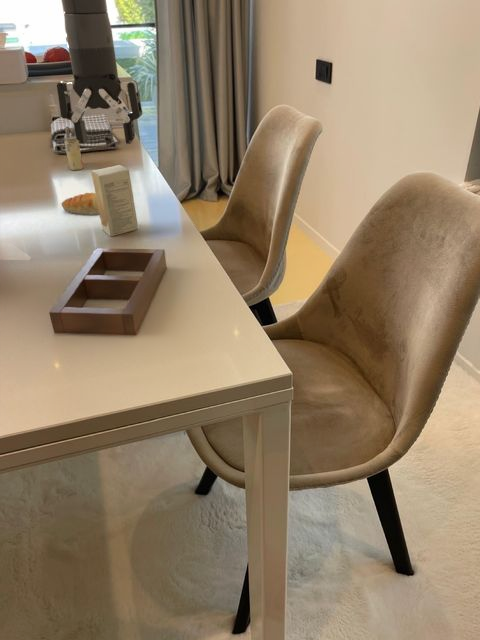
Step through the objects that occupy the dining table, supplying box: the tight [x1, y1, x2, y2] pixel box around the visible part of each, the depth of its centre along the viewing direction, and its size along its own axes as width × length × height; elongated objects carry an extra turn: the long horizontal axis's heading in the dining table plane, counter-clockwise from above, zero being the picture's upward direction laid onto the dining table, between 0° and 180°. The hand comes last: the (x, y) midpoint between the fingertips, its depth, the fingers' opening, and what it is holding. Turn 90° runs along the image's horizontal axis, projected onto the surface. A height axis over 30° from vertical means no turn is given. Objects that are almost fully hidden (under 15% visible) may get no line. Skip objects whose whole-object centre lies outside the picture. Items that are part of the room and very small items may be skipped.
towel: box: [50, 113, 118, 155], centre depth 166 cm, size 15×18×8 cm
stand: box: [48, 247, 167, 336], centre depth 86 cm, size 12×22×5 cm, turn 177°
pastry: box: [61, 192, 100, 216], centre depth 122 cm, size 9×7×4 cm
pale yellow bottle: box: [64, 126, 84, 171], centre depth 148 cm, size 7×4×10 cm, turn 15°
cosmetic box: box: [90, 164, 139, 237], centre depth 110 cm, size 6×4×12 cm
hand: (106, 142), depth 104 cm, fingers open, 8 cm apart
